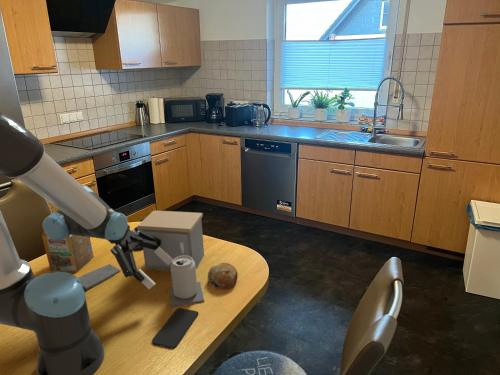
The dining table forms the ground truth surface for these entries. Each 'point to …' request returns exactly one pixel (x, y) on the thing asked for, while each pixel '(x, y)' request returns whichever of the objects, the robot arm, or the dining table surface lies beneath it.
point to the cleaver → (97, 276)
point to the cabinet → (173, 237)
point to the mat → (179, 302)
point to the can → (184, 277)
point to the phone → (175, 328)
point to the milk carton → (68, 253)
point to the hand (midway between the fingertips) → (162, 274)
